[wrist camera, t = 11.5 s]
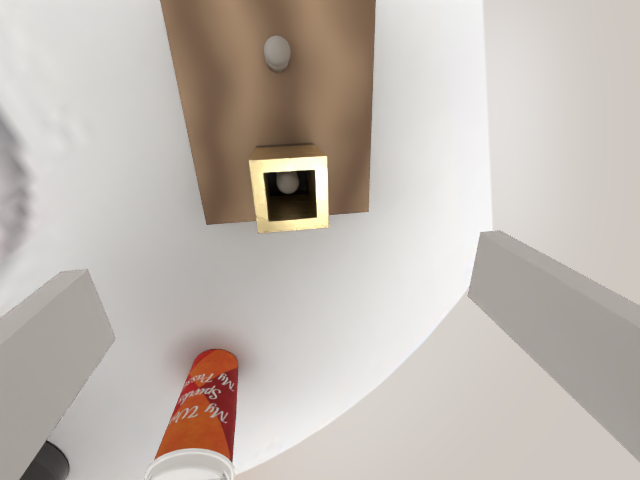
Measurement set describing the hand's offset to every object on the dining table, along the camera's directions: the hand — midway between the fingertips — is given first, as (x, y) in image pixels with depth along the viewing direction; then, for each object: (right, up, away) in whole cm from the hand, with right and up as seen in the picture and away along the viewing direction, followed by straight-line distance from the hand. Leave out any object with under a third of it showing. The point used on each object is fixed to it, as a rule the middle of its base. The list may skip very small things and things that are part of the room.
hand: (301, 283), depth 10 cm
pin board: (-3, +13, +17) cm, 21 cm away
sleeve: (-2, +8, +17) cm, 19 cm away
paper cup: (-13, -15, +28) cm, 34 cm away
